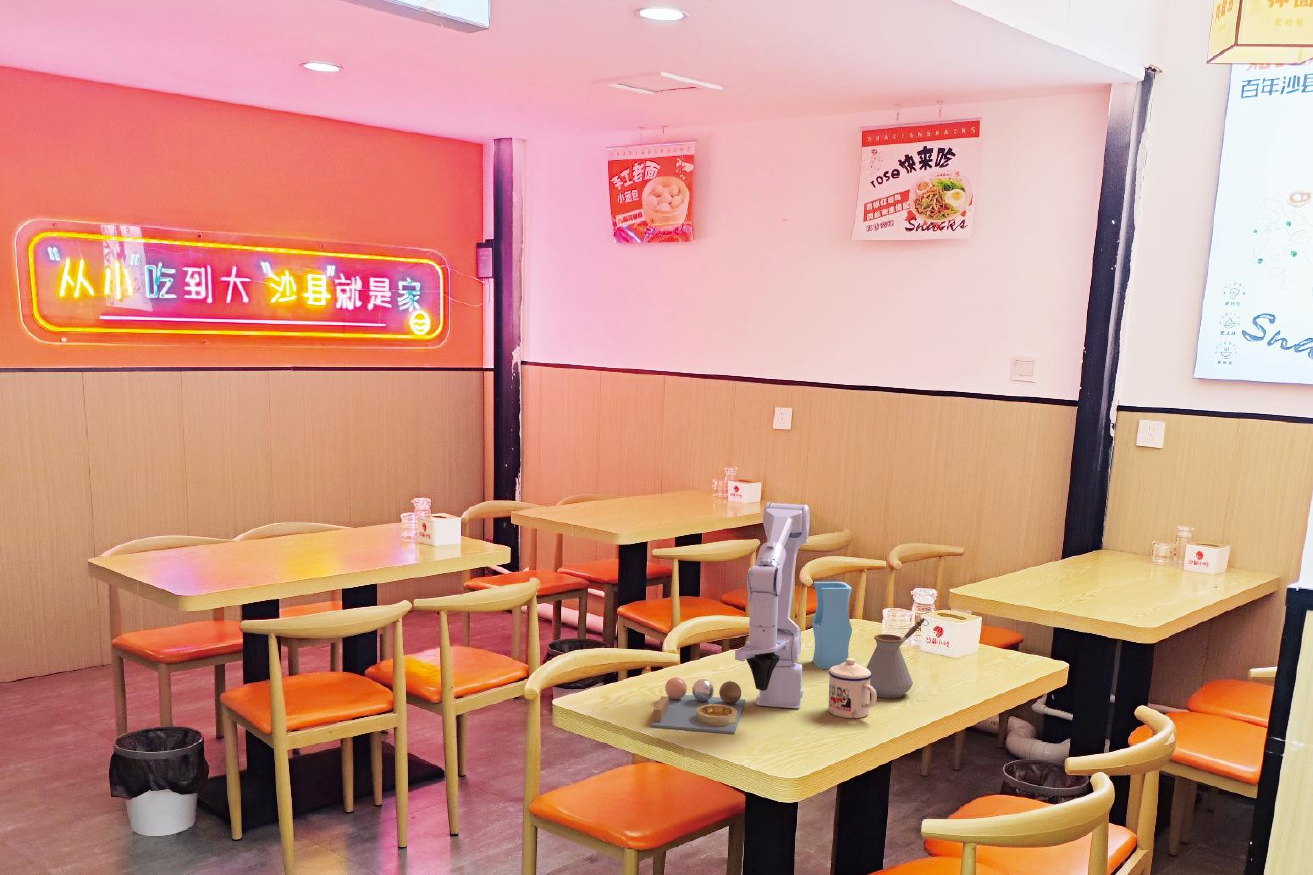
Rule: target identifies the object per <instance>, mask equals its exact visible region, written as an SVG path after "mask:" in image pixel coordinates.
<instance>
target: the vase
mask: <svg viewBox="0 0 1313 875" xmlns="http://www.w3.org/2000/svg"><path fill="white" fill-rule="evenodd" d="M813 584H814V589H815V594H816V610H815V613H814V616H813V620H812V622H811V623H812V624H811V625H812V631H813V637H814V652H813V658H812V662H813V664H814V665H815V666H816V667H817V668H818V669H822V670H830V668H831V667H833V666H836V665H840V664H842V663H845V662H846V659H847V658H849V646H850V641H851V636H852V634H853V628H852V624H851V622H850V621H851V620H850V615H849V602H850V598H851V597H850V596H851V592H852V586H850V585H849V584H847V583H846V582H843V581H813Z"/></svg>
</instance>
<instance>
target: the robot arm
mask: <svg viewBox="0 0 1313 875" xmlns="http://www.w3.org/2000/svg"><path fill="white" fill-rule="evenodd" d="M810 520H811V510H810V507H809V506H808V504H804V503H803V504H795V503H794V504H793V503H791V504H790V503H777V502H771V501H769V502H767V503H766V504H765V505H764V507H763V515H762V523H763V525H762V526H763V527H764V532H765V536H766V539H767V542H765V543H763V544H762V545H760V548H759V551H758V553H757V558H756V560H755V563H754V565H753V566H752V567H749V568H748V572H747V578H746V587H747V588H746V589H747V598H748V599H747V601H748V602H749V622H748V624H749V626H748V629H749V630H748V641H745V645H743V646H742V647H741V648H737V649H735V650H734V660H736V661H739V662H744V661H746V662H747V664H748V666H749V668H750V671H751V673H752V677H753V682H754V686H755V689H756V690H759V693H758V695H757V698H756V701H755V705H756V706H761V707H762V706H763V707H772V708H773V707H774V708H788V709H796V710H797V709H800V708H801V704H802V699H803V696H804V695H803V694H804V692H803V691H804V690H803V664H801V663H798V661H799V660H800V657H801V652H802V651H801V650H802V638H801V637H802V631H801V628H800V626H799V624H797V623H796V622H794V621H793V620H792V619H791V612H792V602H793V592H794V584H795V575H796V574H795V573H796V564H797V556H798V553H799V549H800V547H802V546H803V545H805V544H807V543H808V539H809V532H810V522H811V521H810Z"/></svg>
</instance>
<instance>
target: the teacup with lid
mask: <svg viewBox="0 0 1313 875" xmlns="http://www.w3.org/2000/svg"><path fill="white" fill-rule="evenodd" d="M828 670H829V671H828V675H829V684H828V712H830V714H831V715H834V716H836V717H839V718H845V719H861V718H865V717H867V716H868V715H869V713H870V709H871V708H873V707H874V706H875V705H876V703H877V700H878V698H877V697H878V696H877V694H876V691H875V689H874V688H873V687H872V686H870V678H871V676H872V675H871V672H870V671H869V670H868V669H867V668H866V667H864V666H862V665H860V664H859V663H856V660H855V658H852V657H851V658H847V659H846V662H845V663H842V664H840V665H836V666H833V667H831V668H830V669H828ZM870 697H871V698H870Z"/></svg>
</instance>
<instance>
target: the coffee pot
mask: <svg viewBox="0 0 1313 875" xmlns="http://www.w3.org/2000/svg"><path fill="white" fill-rule="evenodd" d="M924 622H927V624H924ZM929 624H930V623H929V621H928V620H927V619H925V618H924V617H922V618H921V619H920V620H919V621H917V622H916V624H915V625H913V626H912V627H911V628H909V630H908V631H907V632H906V633H905V635H903V637H901V636H900V635H896V634H889V633H888V634H887V633H882V634H876V635H874V636H873V639H874V640H875V642H876V646H875V648H874V650H873V653H872V655H871V657H870V659H869V661H868V664H867V665H866V667H865V668H867V669H868V670H869V671H870V672H871V675H872V676H871V678H870V686H872V687H873V688H874V689H875V691H876V694H877V697H879V698H885V699H895V698H901V697H903V696H904V695H905V694H906V693H907V692H909V691H910V690H911V688H912V687H913V684H914V682H913V679H912V677H911V674H910V671H909V668H908V666H907V663H906V661H905V658H904V655H903V653H902V650H901V648H900V647H901V645H903V644H904V643H905V641H907V640H908V639H909V638H910V637H911V636H912V635H914V634H915V633H916V632H917V631H918V629H919V627H921V626H922V625H923V626H924V627H927V626H929Z"/></svg>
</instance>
